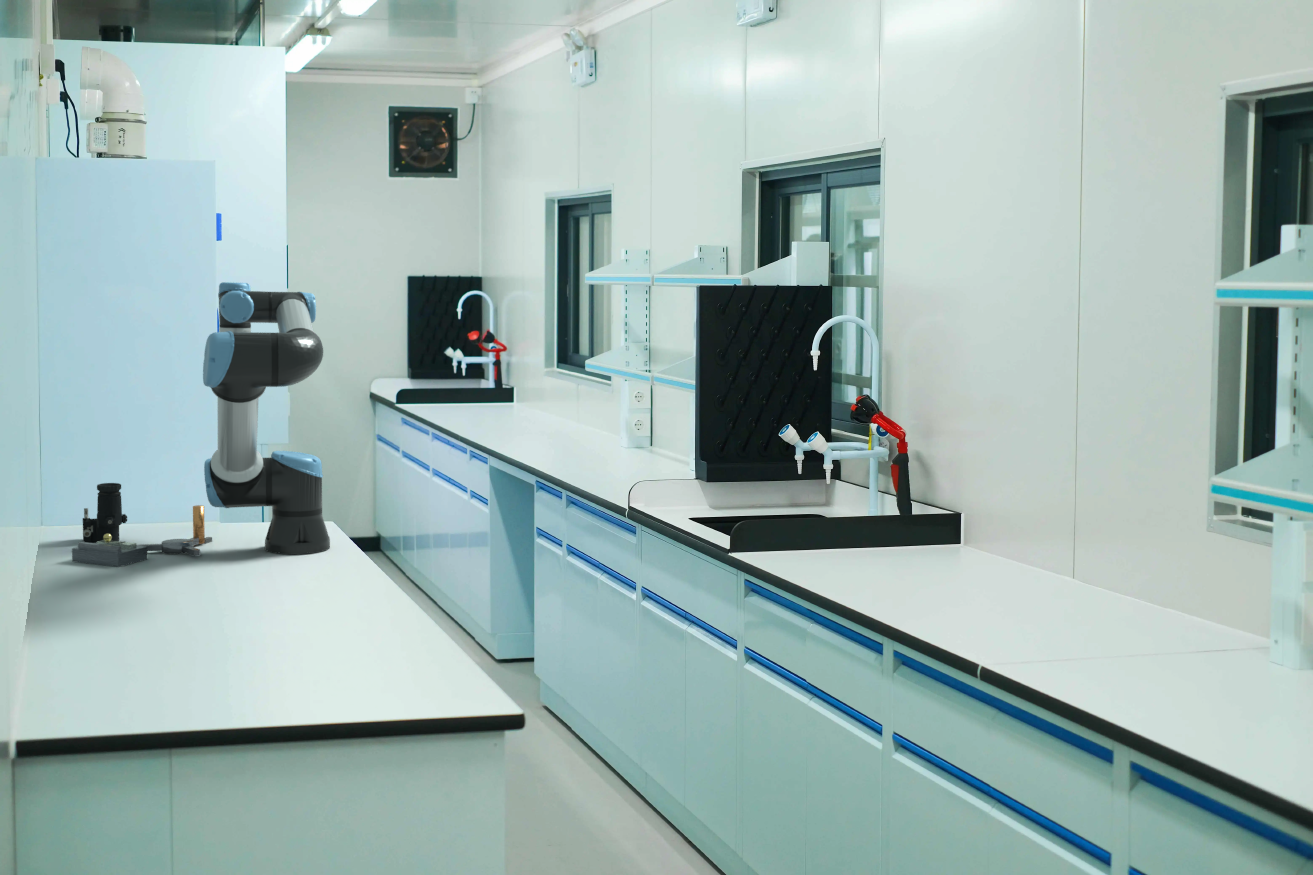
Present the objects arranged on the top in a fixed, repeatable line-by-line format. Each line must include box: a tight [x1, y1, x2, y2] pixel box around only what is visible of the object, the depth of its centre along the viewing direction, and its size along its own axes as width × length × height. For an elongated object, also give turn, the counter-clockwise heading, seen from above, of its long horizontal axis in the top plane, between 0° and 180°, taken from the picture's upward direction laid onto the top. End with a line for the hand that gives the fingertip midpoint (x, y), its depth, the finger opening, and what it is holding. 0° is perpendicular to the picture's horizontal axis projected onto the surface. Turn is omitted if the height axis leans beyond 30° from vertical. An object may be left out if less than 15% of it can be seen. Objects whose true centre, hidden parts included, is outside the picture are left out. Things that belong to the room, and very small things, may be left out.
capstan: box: [136, 504, 206, 557], centre depth 303 cm, size 16×17×9 cm
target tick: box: [204, 536, 213, 544], centre depth 313 cm, size 3×1×1 cm, turn 168°
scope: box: [82, 482, 128, 543], centre depth 311 cm, size 8×14×10 cm
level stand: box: [71, 534, 148, 568], centre depth 290 cm, size 13×9×6 cm
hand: (236, 439), depth 318 cm, fingers closed
